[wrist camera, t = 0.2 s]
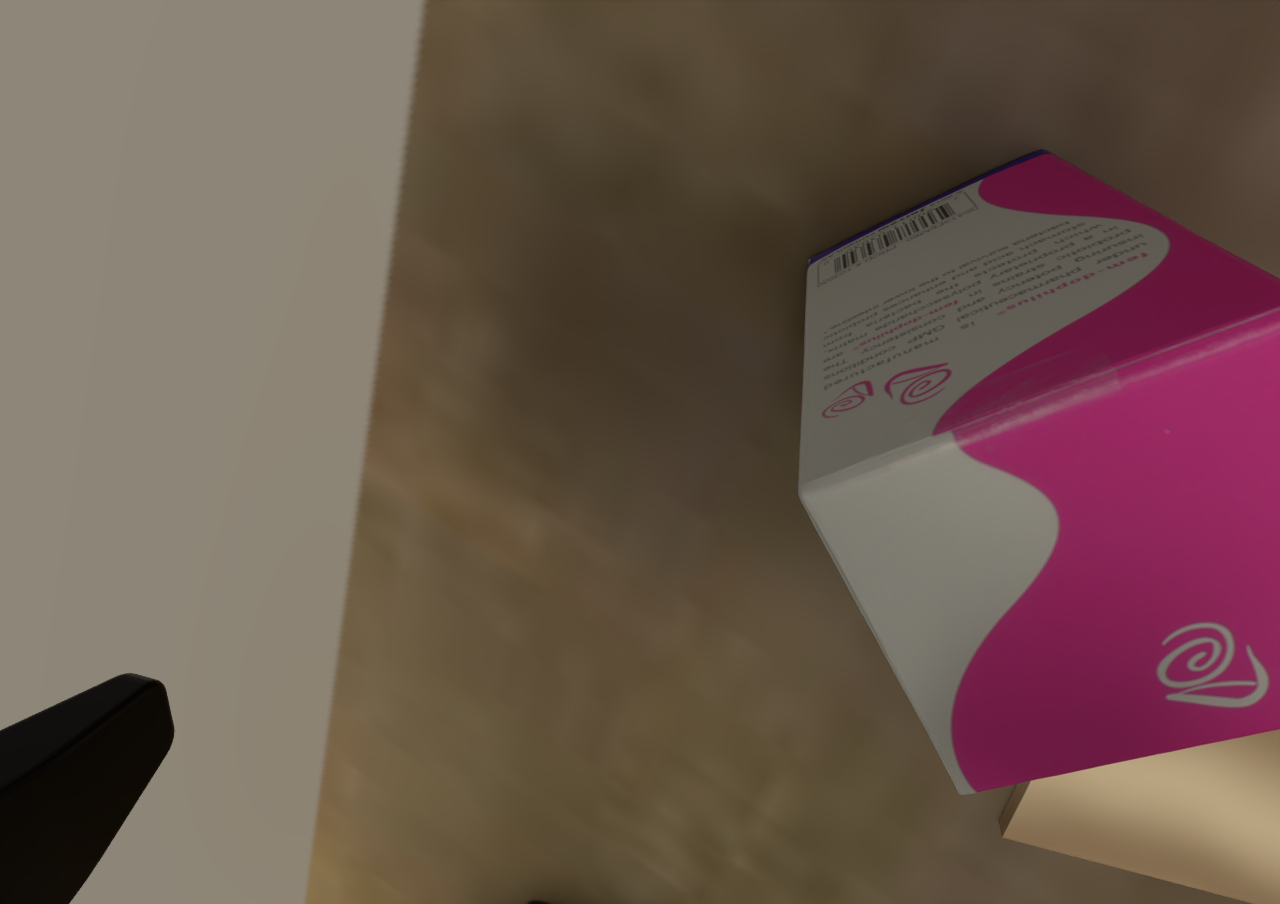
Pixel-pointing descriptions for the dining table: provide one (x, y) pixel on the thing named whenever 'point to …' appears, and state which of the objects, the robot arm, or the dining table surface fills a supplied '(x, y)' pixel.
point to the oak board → (1167, 816)
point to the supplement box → (1051, 471)
